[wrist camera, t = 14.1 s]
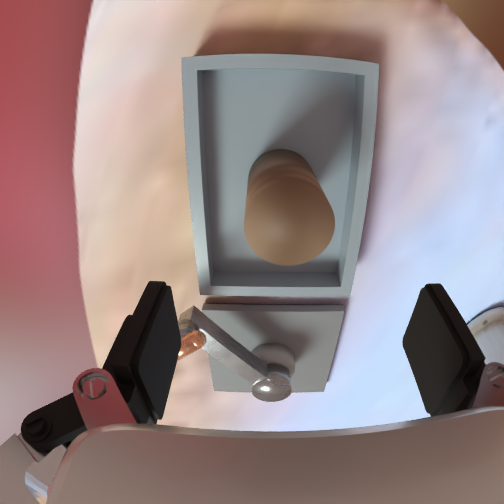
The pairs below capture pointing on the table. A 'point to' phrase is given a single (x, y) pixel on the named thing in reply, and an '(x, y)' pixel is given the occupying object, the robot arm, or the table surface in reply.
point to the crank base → (279, 341)
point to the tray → (270, 138)
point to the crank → (233, 356)
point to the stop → (286, 210)
